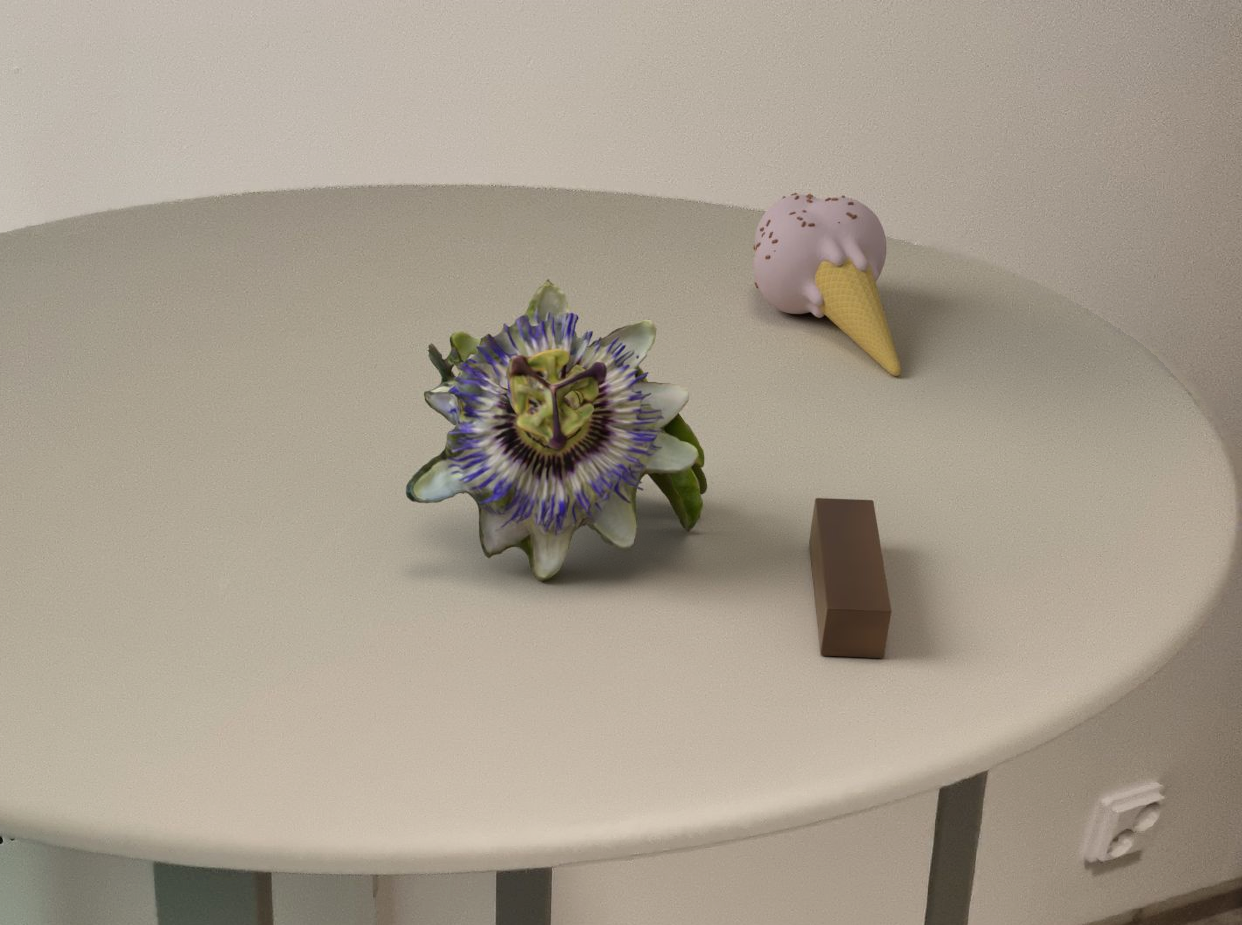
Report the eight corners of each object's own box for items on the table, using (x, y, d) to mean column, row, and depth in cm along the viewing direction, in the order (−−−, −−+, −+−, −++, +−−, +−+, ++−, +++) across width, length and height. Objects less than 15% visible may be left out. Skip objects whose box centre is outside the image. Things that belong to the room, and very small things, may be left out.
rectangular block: (866, 545, 80) (873, 499, 79) (883, 659, 73) (891, 610, 71) (809, 542, 80) (815, 497, 79) (820, 656, 73) (827, 608, 72)
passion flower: (543, 690, 82) (388, 504, 74) (499, 539, 89) (352, 352, 80) (776, 547, 78) (640, 333, 69) (711, 400, 85) (580, 187, 76)
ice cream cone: (952, 296, 91) (843, 135, 99) (813, 365, 93) (717, 201, 101) (969, 390, 96) (863, 229, 104) (836, 454, 97) (742, 290, 106)
